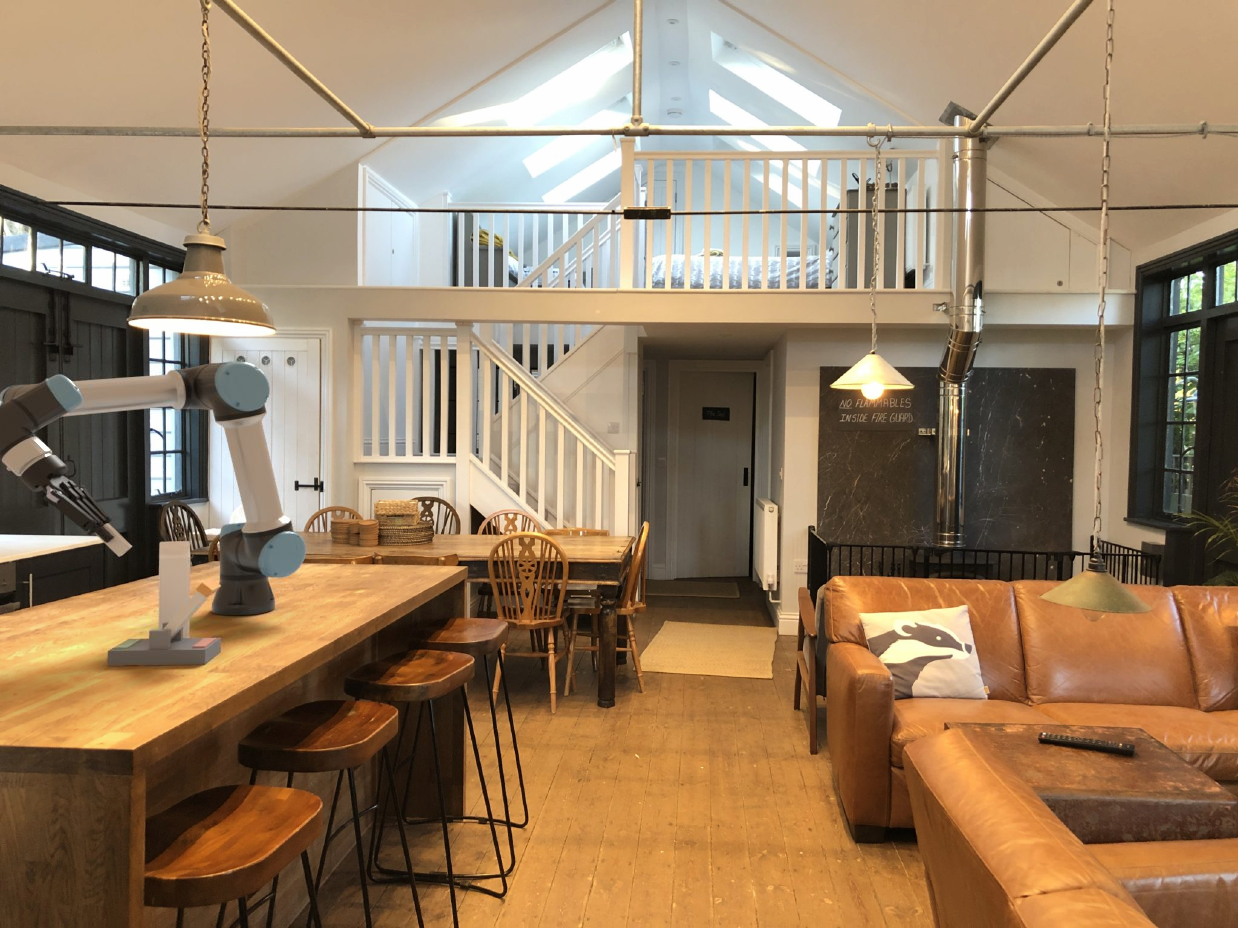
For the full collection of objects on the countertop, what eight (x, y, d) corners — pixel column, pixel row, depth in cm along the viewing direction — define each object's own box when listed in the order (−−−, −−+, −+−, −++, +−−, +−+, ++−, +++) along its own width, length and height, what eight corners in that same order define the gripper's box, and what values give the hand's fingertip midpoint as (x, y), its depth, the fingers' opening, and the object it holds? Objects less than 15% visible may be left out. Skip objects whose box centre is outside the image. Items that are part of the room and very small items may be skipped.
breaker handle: (172, 640, 173) (221, 585, 174) (162, 647, 168) (212, 590, 169) (162, 632, 173) (211, 577, 174) (151, 639, 167) (202, 582, 168)
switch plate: (220, 651, 177) (221, 620, 177) (205, 664, 167) (205, 631, 167) (128, 653, 174) (129, 621, 174) (107, 665, 164) (107, 632, 164)
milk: (189, 642, 185) (191, 542, 184) (158, 644, 182) (159, 543, 181) (188, 635, 190) (189, 539, 189) (157, 638, 187) (159, 540, 186)
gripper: (38, 476, 171) (124, 559, 175) (3, 480, 159) (96, 569, 162) (67, 451, 172) (152, 534, 176) (34, 453, 159) (126, 543, 163)
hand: (125, 551), depth 169 cm, fingers closed
